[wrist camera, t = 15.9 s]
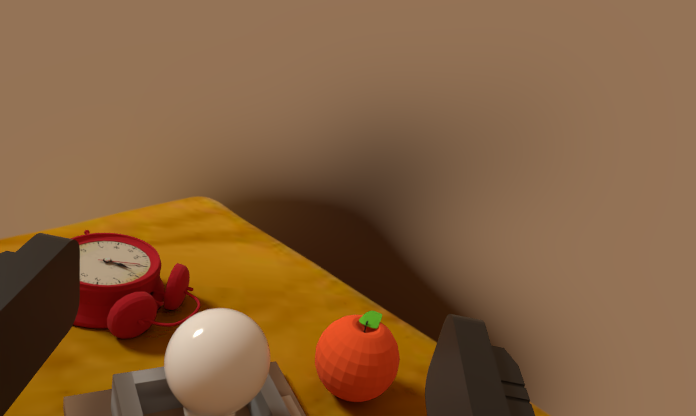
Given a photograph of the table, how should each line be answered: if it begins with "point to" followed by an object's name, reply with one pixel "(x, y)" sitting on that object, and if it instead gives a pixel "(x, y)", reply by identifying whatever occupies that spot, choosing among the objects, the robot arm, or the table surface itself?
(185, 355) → the lightbulb
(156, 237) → the table surface
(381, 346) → the clementine
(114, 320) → the alarm clock
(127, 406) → the socket stand
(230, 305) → the table surface
